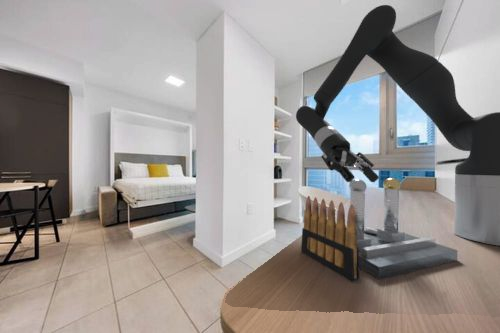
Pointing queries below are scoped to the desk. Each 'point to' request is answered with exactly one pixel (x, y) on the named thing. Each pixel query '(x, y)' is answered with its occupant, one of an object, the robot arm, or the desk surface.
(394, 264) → the plate
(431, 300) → the desk surface
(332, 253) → the ammunition clip
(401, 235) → the gold topped lever
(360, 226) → the silver ball-topped post
